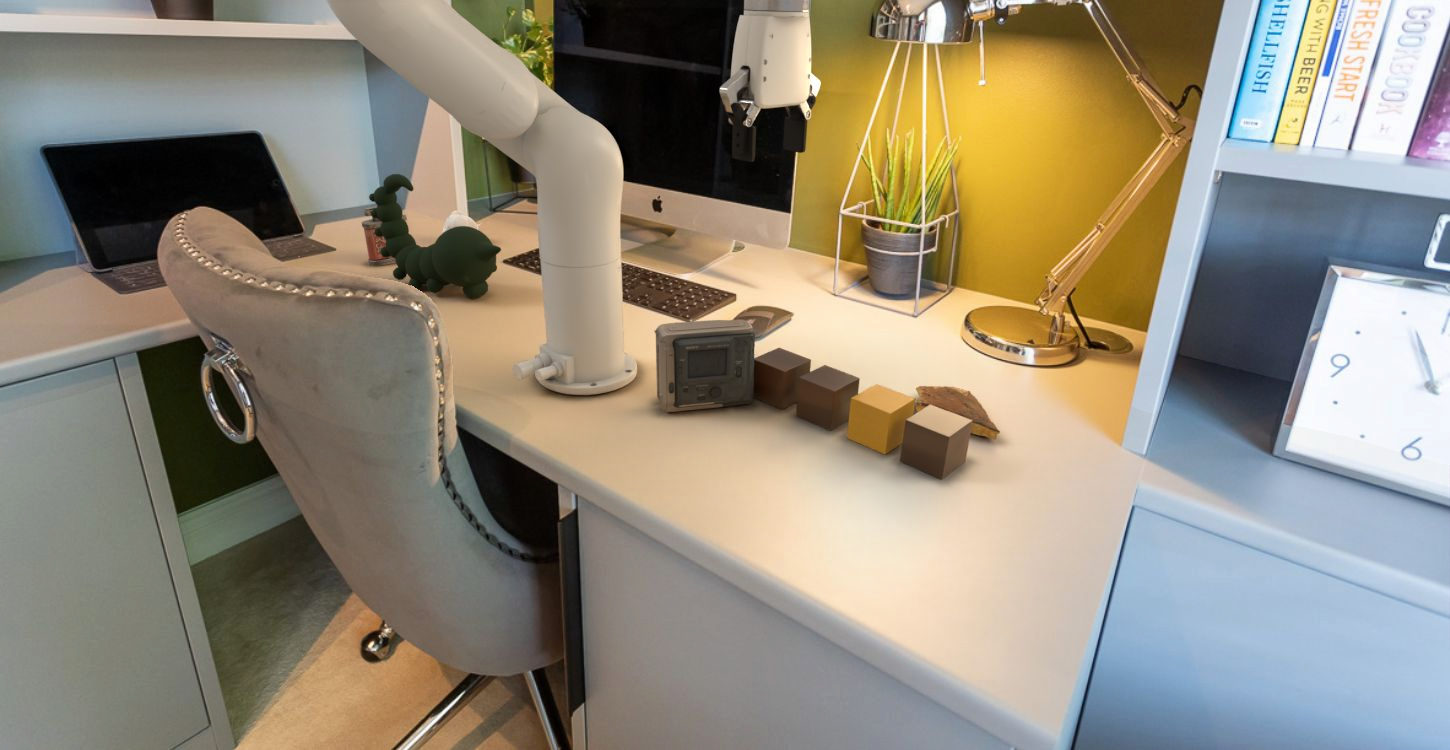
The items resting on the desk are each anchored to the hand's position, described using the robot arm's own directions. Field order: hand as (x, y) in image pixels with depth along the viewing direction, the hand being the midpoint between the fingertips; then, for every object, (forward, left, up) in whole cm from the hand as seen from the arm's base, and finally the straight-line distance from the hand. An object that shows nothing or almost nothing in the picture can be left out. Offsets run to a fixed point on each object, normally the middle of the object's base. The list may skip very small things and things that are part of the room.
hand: (769, 155), depth 97 cm
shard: (+3, -29, -26) cm, 39 cm away
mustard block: (-9, -25, -26) cm, 38 cm away
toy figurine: (-19, +51, -26) cm, 61 cm away
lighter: (-18, +72, -26) cm, 79 cm away
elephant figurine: (-3, +73, -26) cm, 78 cm away
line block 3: (-9, -32, -26) cm, 42 cm away
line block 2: (-9, -18, -26) cm, 33 cm away
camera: (-17, -6, -26) cm, 32 cm away
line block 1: (-9, -11, -26) cm, 30 cm away
